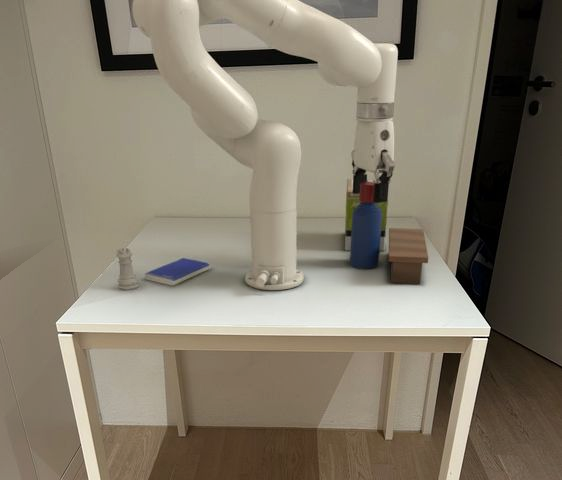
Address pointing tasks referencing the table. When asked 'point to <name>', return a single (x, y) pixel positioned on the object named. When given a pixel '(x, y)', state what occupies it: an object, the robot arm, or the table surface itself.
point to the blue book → (177, 271)
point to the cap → (366, 191)
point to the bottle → (365, 235)
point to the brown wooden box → (407, 255)
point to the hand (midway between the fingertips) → (369, 197)
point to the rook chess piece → (126, 271)
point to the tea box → (351, 204)
